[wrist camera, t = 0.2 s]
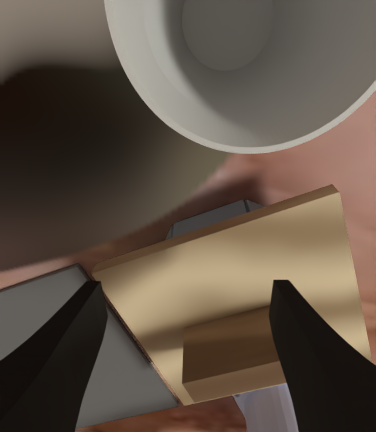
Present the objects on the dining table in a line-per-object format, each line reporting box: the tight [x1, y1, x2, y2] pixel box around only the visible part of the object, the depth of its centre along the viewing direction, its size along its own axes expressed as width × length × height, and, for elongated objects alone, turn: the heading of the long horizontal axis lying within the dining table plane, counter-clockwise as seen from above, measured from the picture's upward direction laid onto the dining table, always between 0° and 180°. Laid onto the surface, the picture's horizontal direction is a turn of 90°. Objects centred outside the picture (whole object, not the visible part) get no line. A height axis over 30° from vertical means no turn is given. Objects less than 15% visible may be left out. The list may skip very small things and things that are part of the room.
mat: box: [0, 263, 178, 429], centre depth 31 cm, size 20×18×1 cm
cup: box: [104, 0, 376, 154], centre depth 12 cm, size 8×8×10 cm
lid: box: [91, 184, 372, 406], centre depth 20 cm, size 15×15×5 cm
